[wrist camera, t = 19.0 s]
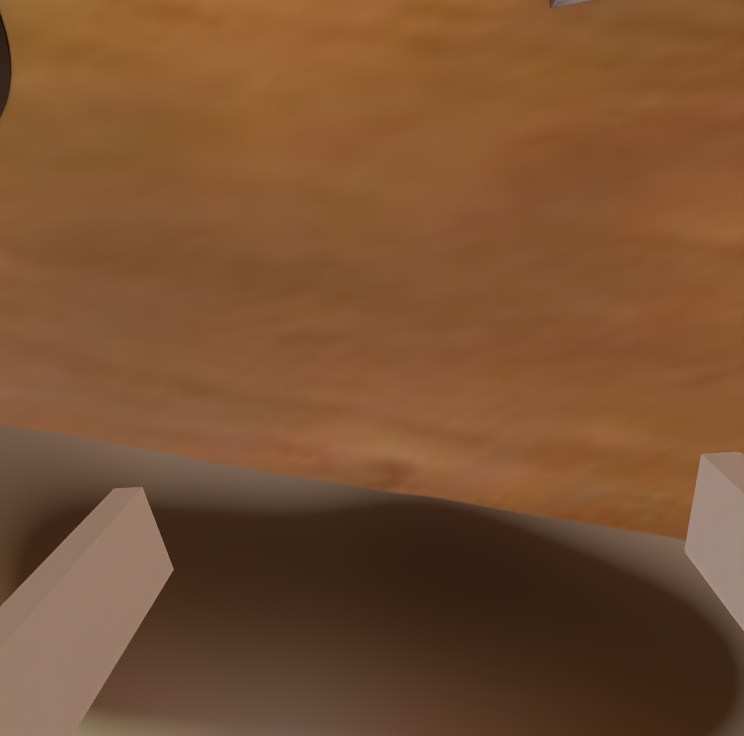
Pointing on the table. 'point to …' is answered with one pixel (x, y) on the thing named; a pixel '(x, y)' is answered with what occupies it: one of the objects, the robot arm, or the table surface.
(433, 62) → the table surface
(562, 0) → the slate tray
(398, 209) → the table surface
